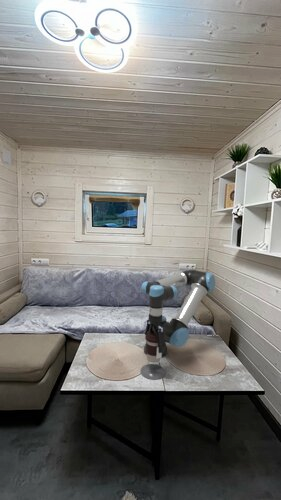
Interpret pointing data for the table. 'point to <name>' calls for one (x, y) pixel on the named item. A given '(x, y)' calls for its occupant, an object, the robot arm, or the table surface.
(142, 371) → the coaster
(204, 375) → the table surface
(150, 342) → the coffee cup
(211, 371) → the table surface
